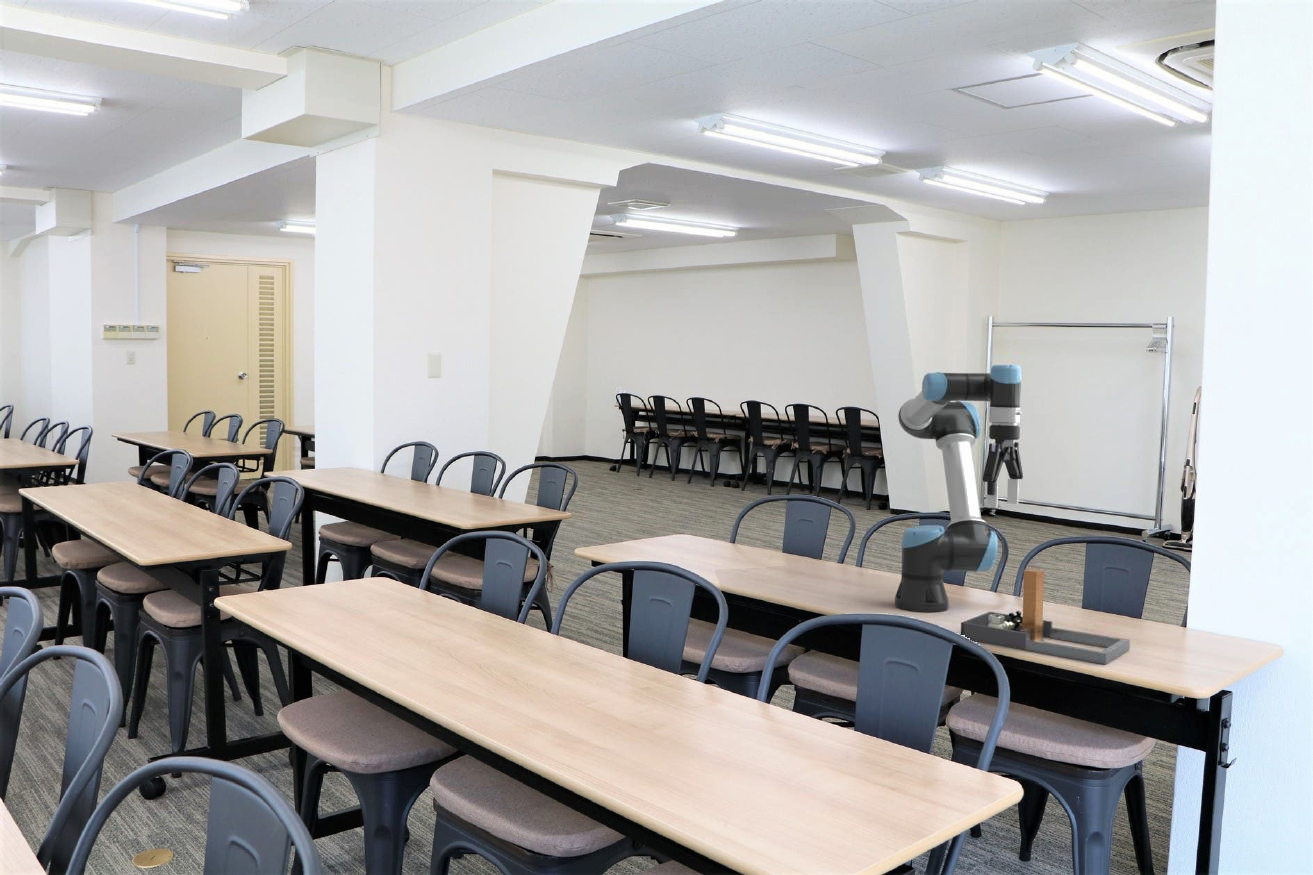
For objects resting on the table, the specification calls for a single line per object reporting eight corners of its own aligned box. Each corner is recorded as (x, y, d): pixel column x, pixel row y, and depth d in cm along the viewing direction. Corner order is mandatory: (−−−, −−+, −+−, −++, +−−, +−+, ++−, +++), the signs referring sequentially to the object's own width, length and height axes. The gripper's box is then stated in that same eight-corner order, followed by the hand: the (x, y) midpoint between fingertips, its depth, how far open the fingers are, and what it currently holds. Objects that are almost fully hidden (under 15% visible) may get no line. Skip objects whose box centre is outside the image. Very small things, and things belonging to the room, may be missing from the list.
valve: (1002, 645, 243) (1030, 638, 250) (1003, 619, 243) (1031, 613, 250) (979, 640, 249) (1007, 633, 256) (980, 614, 248) (1008, 608, 255)
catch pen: (989, 626, 263) (989, 611, 263) (1051, 636, 252) (1052, 621, 252) (960, 638, 250) (961, 622, 250) (1025, 649, 239) (1026, 633, 239)
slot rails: (1052, 636, 252) (1052, 627, 252) (1129, 649, 240) (1129, 639, 240) (1025, 650, 239) (1025, 639, 239) (1105, 664, 227) (1106, 653, 226)
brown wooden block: (1033, 635, 253) (1035, 566, 252) (1049, 638, 250) (1051, 568, 250) (1013, 645, 243) (1015, 572, 242) (1030, 648, 241) (1032, 575, 240)
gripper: (999, 425, 245) (997, 510, 246) (1036, 423, 264) (1034, 503, 265) (970, 424, 250) (968, 508, 251) (1009, 423, 269) (1007, 500, 270)
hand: (1002, 505), depth 258 cm, fingers open, 13 cm apart
